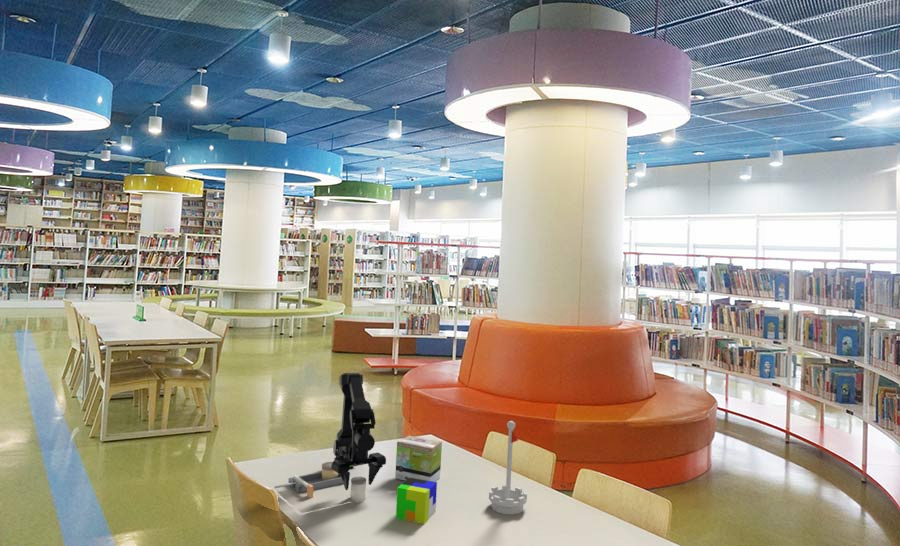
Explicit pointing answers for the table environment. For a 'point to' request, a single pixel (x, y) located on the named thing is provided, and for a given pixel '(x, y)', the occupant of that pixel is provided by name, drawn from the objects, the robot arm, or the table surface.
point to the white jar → (358, 489)
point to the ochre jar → (328, 472)
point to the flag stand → (508, 486)
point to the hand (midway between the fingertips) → (358, 487)
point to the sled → (301, 482)
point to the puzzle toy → (416, 500)
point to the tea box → (418, 459)
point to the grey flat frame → (314, 482)
